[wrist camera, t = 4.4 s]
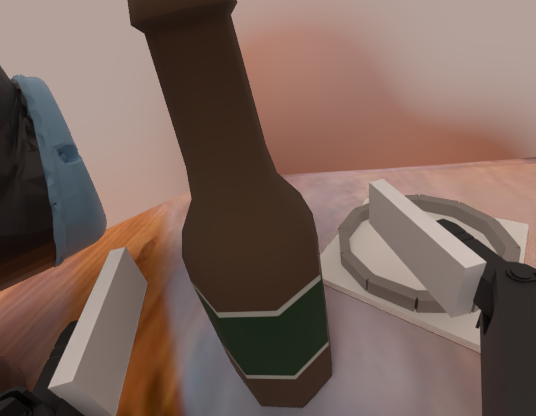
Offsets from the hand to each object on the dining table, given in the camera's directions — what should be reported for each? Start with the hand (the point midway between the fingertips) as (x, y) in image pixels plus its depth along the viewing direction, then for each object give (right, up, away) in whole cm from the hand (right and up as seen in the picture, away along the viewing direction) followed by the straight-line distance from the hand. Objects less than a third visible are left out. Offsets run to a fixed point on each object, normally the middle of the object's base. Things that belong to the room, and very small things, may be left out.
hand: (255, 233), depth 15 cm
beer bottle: (+2, -11, +7) cm, 13 cm away
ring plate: (+16, -3, +14) cm, 21 cm away
